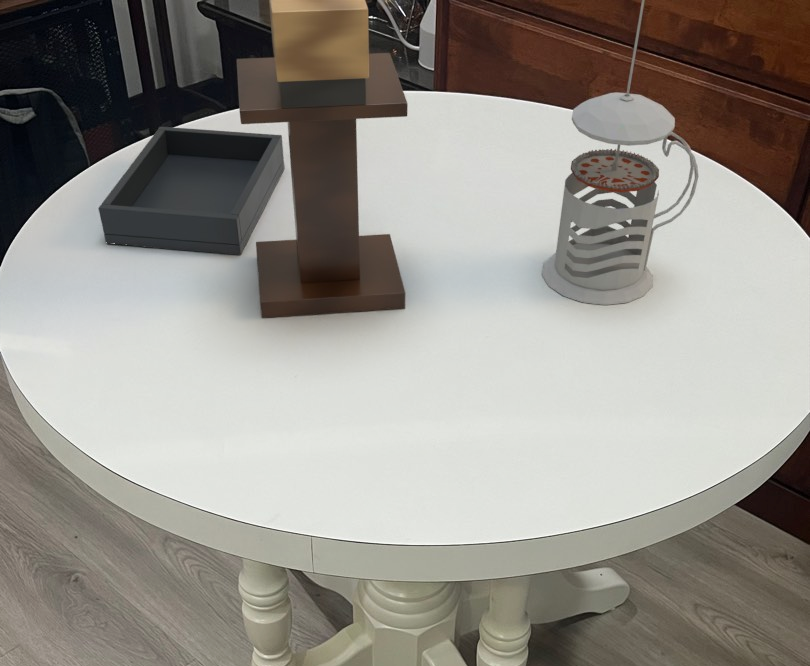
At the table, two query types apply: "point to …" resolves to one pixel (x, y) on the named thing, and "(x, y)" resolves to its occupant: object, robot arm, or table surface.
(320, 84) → the brush
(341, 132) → the stand
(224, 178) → the tray
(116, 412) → the table surface
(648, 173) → the french press
